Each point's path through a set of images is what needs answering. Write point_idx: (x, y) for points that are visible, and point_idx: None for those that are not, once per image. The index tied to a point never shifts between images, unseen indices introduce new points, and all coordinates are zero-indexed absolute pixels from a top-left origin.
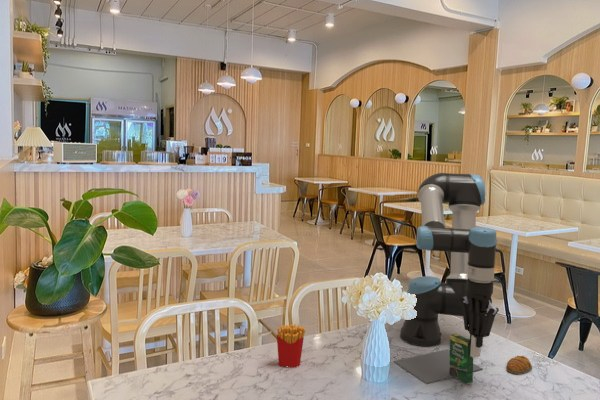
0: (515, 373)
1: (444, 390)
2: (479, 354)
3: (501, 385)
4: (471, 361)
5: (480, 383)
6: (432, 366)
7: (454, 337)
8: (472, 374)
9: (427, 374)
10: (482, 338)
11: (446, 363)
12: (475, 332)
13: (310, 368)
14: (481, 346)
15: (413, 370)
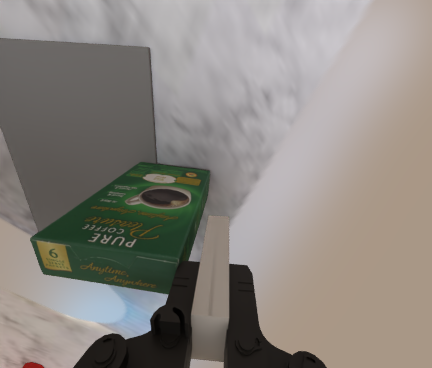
0: None
1: (199, 242)
2: (228, 226)
3: (254, 87)
4: (199, 209)
5: (214, 139)
6: (92, 191)
7: (81, 278)
8: (206, 181)
9: None
10: (258, 326)
11: (83, 140)
12: (188, 354)
13: (52, 358)
14: (249, 274)
15: None
